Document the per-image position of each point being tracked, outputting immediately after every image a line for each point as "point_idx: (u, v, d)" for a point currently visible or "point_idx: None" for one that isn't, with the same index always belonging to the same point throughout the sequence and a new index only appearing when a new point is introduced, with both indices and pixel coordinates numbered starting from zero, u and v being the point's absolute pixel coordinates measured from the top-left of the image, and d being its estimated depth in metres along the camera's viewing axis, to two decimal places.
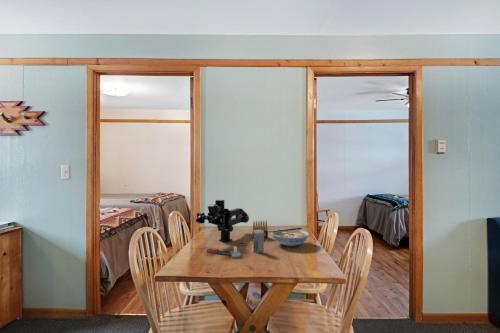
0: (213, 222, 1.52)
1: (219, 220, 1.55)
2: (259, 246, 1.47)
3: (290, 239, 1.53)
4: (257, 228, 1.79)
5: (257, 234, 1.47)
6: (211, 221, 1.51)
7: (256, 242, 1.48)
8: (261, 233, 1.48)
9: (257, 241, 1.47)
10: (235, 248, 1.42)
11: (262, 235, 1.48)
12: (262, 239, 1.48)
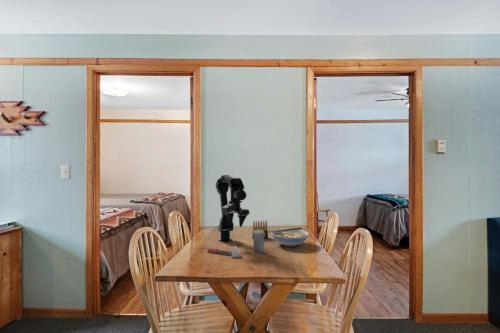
0: (242, 221, 1.54)
1: (243, 215, 1.53)
2: (259, 246, 1.47)
3: (290, 239, 1.53)
4: (257, 228, 1.79)
5: (257, 234, 1.47)
6: (241, 224, 1.54)
7: (256, 242, 1.48)
8: (261, 233, 1.48)
9: (257, 241, 1.47)
10: (235, 248, 1.42)
11: (262, 235, 1.48)
12: (262, 239, 1.48)
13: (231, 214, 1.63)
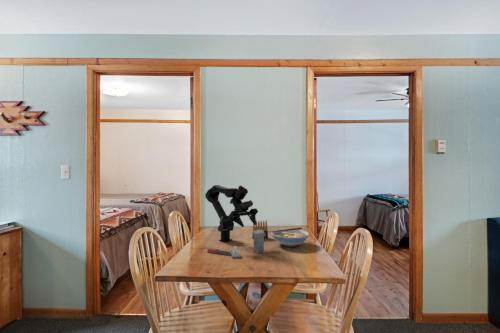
0: None
1: (254, 215, 1.64)
2: (259, 246, 1.47)
3: (290, 239, 1.53)
4: (257, 228, 1.79)
5: (257, 234, 1.47)
6: None
7: (256, 242, 1.48)
8: (261, 233, 1.48)
9: (257, 241, 1.47)
10: (235, 248, 1.42)
11: (262, 235, 1.48)
12: (262, 239, 1.48)
13: None
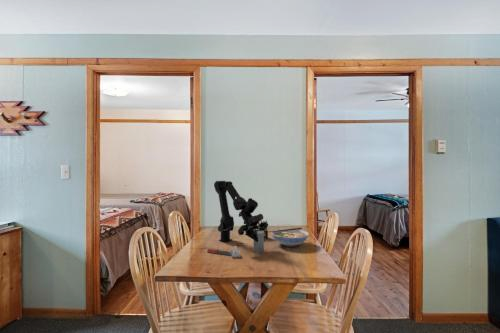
0: None
1: None
2: (259, 246, 1.47)
3: (290, 239, 1.53)
4: None
5: (257, 234, 1.47)
6: None
7: (256, 242, 1.48)
8: (261, 233, 1.48)
9: None
10: (235, 248, 1.42)
11: (262, 235, 1.48)
12: (262, 239, 1.48)
13: None
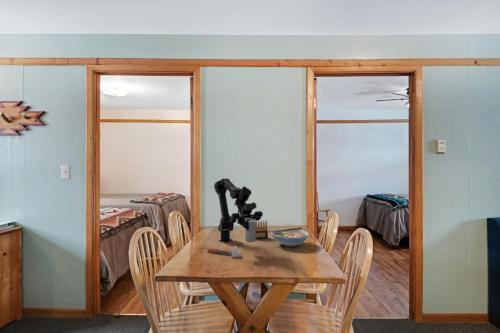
0: None
1: None
2: (250, 235, 1.44)
3: (290, 239, 1.53)
4: (257, 228, 1.79)
5: (248, 223, 1.44)
6: None
7: (247, 231, 1.45)
8: (252, 222, 1.45)
9: (248, 230, 1.44)
10: (235, 248, 1.42)
11: (254, 224, 1.45)
12: (254, 228, 1.45)
13: None
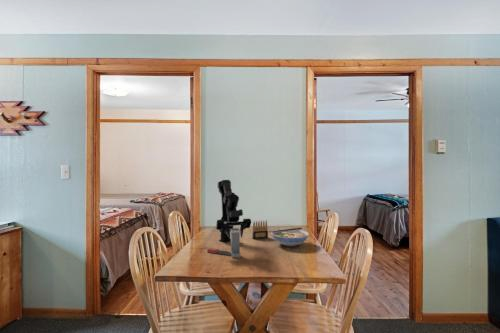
0: (242, 232, 1.45)
1: (244, 226, 1.47)
2: (233, 246, 1.40)
3: (290, 239, 1.53)
4: (257, 228, 1.79)
5: (231, 233, 1.41)
6: None
7: (231, 241, 1.42)
8: (236, 232, 1.41)
9: (231, 240, 1.41)
10: None
11: (238, 234, 1.41)
12: (237, 239, 1.41)
13: None
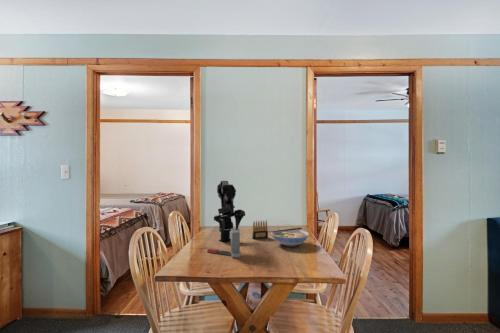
0: (238, 223, 1.53)
1: (240, 216, 1.54)
2: (233, 246, 1.40)
3: (290, 239, 1.53)
4: (257, 228, 1.79)
5: (232, 233, 1.41)
6: (237, 226, 1.52)
7: (231, 241, 1.42)
8: (236, 232, 1.41)
9: (232, 240, 1.41)
10: None
11: (238, 234, 1.41)
12: (237, 239, 1.41)
13: (223, 221, 1.59)
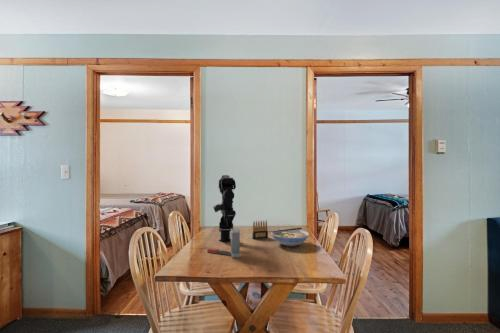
0: (230, 222, 1.53)
1: None
2: (233, 246, 1.40)
3: (290, 239, 1.53)
4: (257, 228, 1.79)
5: (232, 233, 1.41)
6: (228, 224, 1.53)
7: (231, 241, 1.42)
8: (236, 232, 1.41)
9: (232, 240, 1.41)
10: None
11: (238, 234, 1.41)
12: (237, 239, 1.41)
13: None
